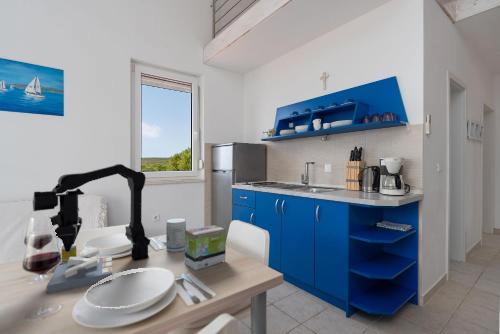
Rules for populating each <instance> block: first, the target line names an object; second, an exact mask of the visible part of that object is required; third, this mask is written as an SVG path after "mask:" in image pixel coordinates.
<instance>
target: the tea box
mask: <svg viewBox="0 0 500 334" xmlns="http://www.w3.org/2000/svg"><path fill="white" fill-rule="evenodd" d="M226 231H227V230H226V228H223V227H220V226H218V225H214V224H213V225H207V226H201V227H196V228H191V229H186V230H185V249H184V264H185V265H186V266H188V267H190V269H192V270H194V271H198V270H201V269H204V268H207V267H211V266H214V265H218V264H221V263H220V262H222V263H224V262H223V261H225V262H226V249H227V248H226V245H227V244H226V240H227V239H226V238H227V237H226V235H227V233H226ZM217 263H218V264H217Z"/></svg>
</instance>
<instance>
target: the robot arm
mask: <svg viewBox="0 0 500 334" xmlns="http://www.w3.org/2000/svg"><path fill="white" fill-rule="evenodd" d="M115 175H119V176H121V177H123V178H124V179H126V180H127V186H128V188H129V191H130V218H129V219H130V221H129V224H128V226H127V225H126V226H125V235H124V236H126V238H127V239H126V240H128V241H130V243H131V244H132V247H131V249H130V250H131V252H130V254H131V255H130V257H131V259H132V260H133V262H134V261H135V262H136V261H141V260H145V259H146V260H147V259H149V258H150V256H149V246H150V244H151V239H149V238H148V237H147V236H146V233H145V227H144V226H143V223H142V208H143V207H142V206H143V205H142V200H143V199H142V197H143V196H142V192H143V189H144V187H145V183H146V179H147V178H146V175H145V174H144V172H141V171H136V170H134V169H131V168H129V167H127V166H125V165H124V164H122V163H119V164H118V163H117V164H114V165H110V166H106V167H104V168H103V167H102V168H97V169H95V170H94V169H93V170H91V171H87V172H78V173H69V174H68V173H67V174H63V175H61V176H60V177H59V178H58V180H57V184H56V185H55V186H54V187H53V189H52V190H50V191H48V190H47V191H34V192H33V197H32V198H33V199H32V211H33V212H39V211H48V210H54V209H56V208H57V207H58V206H59V211H58V212H57V214H55V215H53V216H50V217H49V218H50V219H51V222H52V225H53V226H52V227H54V226H56V225H57V227H56V228H55V229H54V230H55V232H56V233H57V234H56V236H58V237H57V238H58V239H60V240H61V242H62V246H63V245H64V248H65V251H66V252H69V251H70V249H71V247H72V244H75V243H76V240H77V237H78V235H79V233H80V230H81V228H82V225H83V218H82V217H81V216H79V212H80V208H79V196H81V195H85V192H83V191H82V190H81V188H80V187H82V186H83V185H86V184H87V183H90V182H93V181H96V180H101V179H104V178H107V177H111V176H115ZM56 236H55V237H56Z"/></svg>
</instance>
